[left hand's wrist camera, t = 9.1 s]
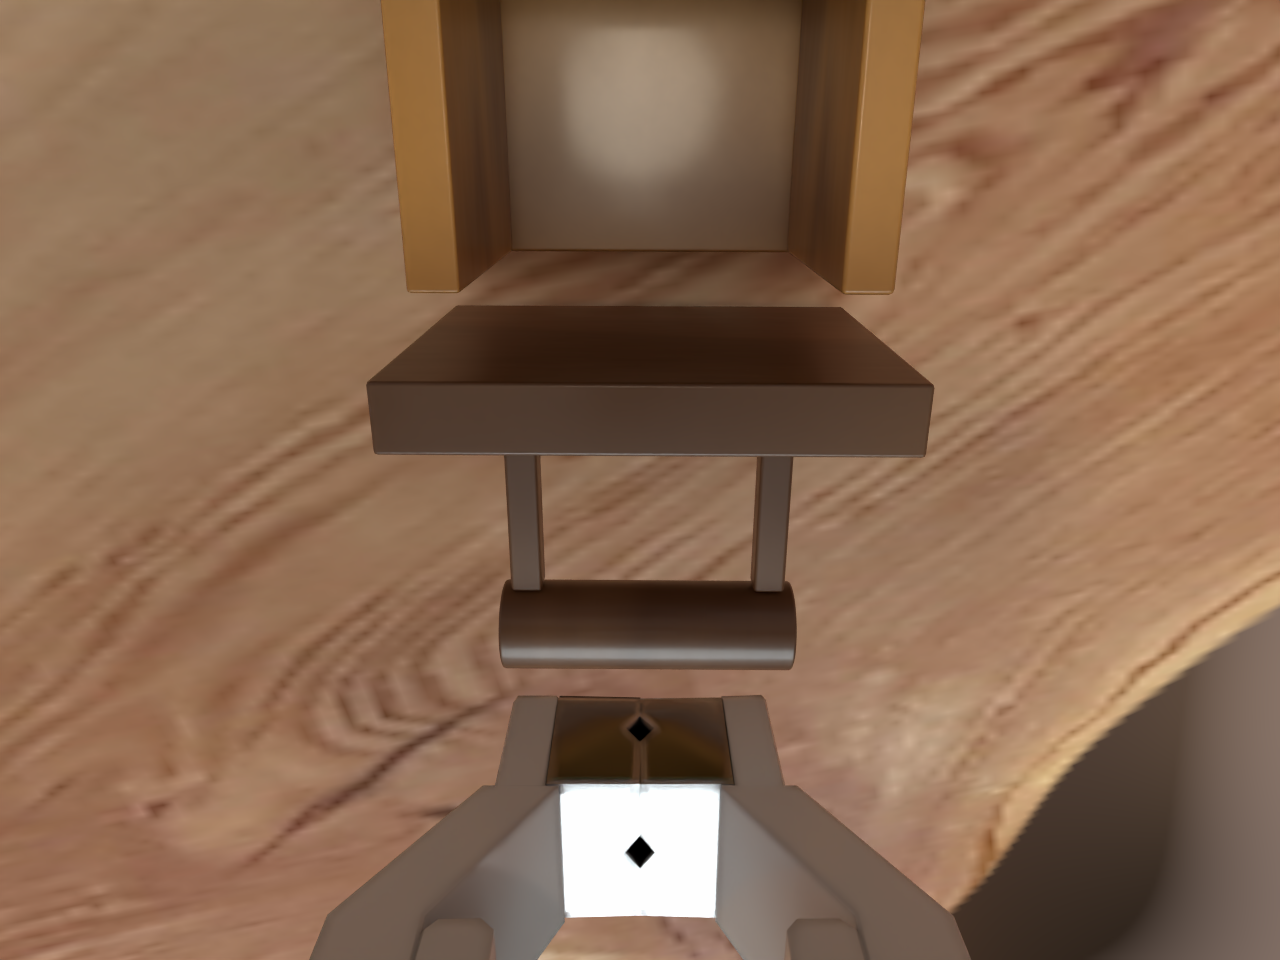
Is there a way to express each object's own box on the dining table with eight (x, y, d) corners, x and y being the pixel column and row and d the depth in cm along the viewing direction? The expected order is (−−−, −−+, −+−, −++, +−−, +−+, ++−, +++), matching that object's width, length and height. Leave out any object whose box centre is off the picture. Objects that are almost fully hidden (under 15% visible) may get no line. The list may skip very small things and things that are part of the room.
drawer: (820, 565, 22) (891, 736, 16) (474, 563, 22) (404, 733, 16) (917, -567, 14) (1129, -1121, 8) (392, -567, 15) (195, -1119, 8)
